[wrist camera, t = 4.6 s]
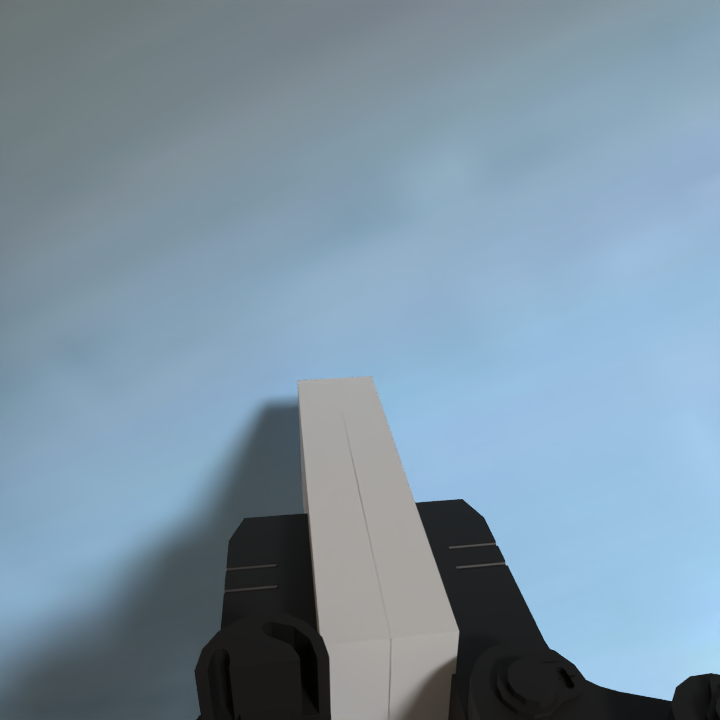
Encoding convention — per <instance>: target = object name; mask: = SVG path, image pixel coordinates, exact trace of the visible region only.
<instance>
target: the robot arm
mask: <svg viewBox="0 0 720 720" xmlns="http://www.w3.org/2000/svg"><path fill="white" fill-rule="evenodd" d="M298 403H299V427H300V450H301V473H302V495H303V508H304V514H293V515H280V516H268V517H255V518H244V520H243V521H242V523H241V524H240V526H239V527H238V528H237V530H236V531H235V533H234V534H233V536H232V537H231V539H230V540H229V546H228V557H227V572H226V578H225V594H224V600H223V611H222V622H221V630H220V631H218V632H217V634H216V635H215V636H214V637H213V638H212V639H211V640H210V641H209V643H208V644H207V645H206V646H205V647H204V648H203V649H202V652H201V655H200V658H199V660H198V663H197V666H196V669H195V678H196V685H197V691H198V698H199V705H200V712H201V715H200V716H199V717H198V718H197V719H196V720H720V675H718V674H712V673H709V674H703V675H697V676H690V677H689V678H688V679H686V680H685V681H684V682H682V683H681V684H680V685H678V686H677V687H676V690H675V693H674V697H673V700H672V701H667V700H662V699H656V698H651V697H645V696H640V695H635V694H629V693H624V692H618V691H615V690H611V689H608V688H604V687H600V686H598V685H596V684H594V683H592V682H589V681H587V680H586V679H585V678H584V677H583V675H582V674H581V673H580V672H579V670H578V669H577V668H576V666H575V665H574V664H573V663H571V662H570V661H568V660H567V659H566V658H564V657H563V656H561V655H560V654H559V653H557V652H556V651H554V650H551V649H549V647H548V645H547V644H546V642H545V641H544V639H543V637H542V635H541V633H540V631H539V629H538V627H537V625H536V622H535V620H534V618H533V616H532V614H531V612H530V610H529V608H528V606H527V604H526V602H525V600H524V598H523V596H522V594H521V592H520V590H519V588H518V586H517V584H516V582H515V580H514V578H513V576H512V574H511V572H510V570H509V567H508V565H507V566H506V565H505V559H504V557H503V555H502V553H501V551H500V549H499V547H498V546H496V541H495V539H494V537H493V535H492V533H491V531H490V529H489V527H488V525H487V523H486V521H485V519H484V517H483V516H481V515H480V514H479V513H478V512H477V511H476V510H474V509H473V508H472V507H471V506H470V505H468V504H467V503H466V502H465V501H464V500H463V499H457V500H444V501H431V502H419V503H415V501H414V498H413V495H412V492H411V489H410V487H409V484H408V481H407V478H406V475H405V472H404V469H403V466H402V463H401V460H400V457H399V455H398V452H397V449H396V446H395V443H394V440H393V437H392V434H391V431H390V428H389V425H388V423H387V420H386V417H385V414H384V411H383V408H382V405H381V402H380V399H379V396H378V393H377V391H376V388H375V385H374V382H373V379H372V376H369V377H351V378H332V379H314V380H298Z"/></svg>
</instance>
